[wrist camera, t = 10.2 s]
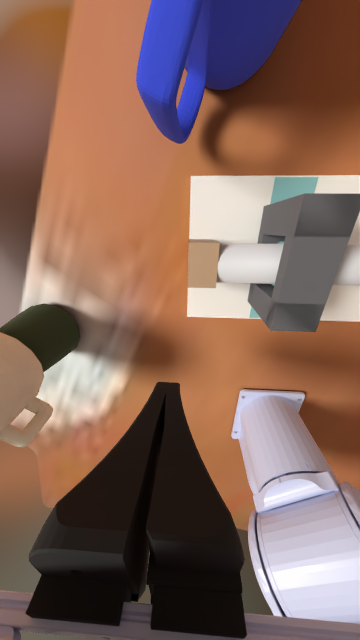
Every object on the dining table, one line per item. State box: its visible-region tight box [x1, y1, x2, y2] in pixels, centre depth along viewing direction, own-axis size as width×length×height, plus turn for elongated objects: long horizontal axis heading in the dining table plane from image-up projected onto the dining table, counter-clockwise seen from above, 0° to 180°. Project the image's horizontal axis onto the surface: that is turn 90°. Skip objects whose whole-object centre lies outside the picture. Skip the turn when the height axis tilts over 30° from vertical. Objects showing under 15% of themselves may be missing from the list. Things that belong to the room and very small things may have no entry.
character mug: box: [0, 304, 80, 447], centre depth 16 cm, size 11×7×13 cm, turn 51°
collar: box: [247, 193, 360, 332], centre depth 14 cm, size 8×3×6 cm, turn 0°
